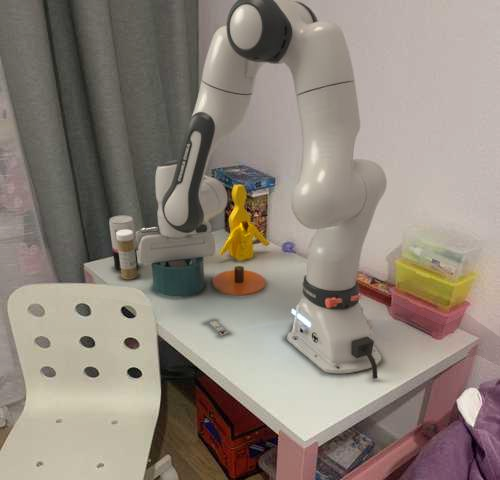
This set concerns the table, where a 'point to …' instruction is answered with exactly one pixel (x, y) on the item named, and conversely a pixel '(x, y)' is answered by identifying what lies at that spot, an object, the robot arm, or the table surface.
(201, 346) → the table surface
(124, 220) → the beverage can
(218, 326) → the granola bar
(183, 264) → the block
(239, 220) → the figure statuette
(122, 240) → the sprinkles bottle
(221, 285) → the lid
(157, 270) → the tin
